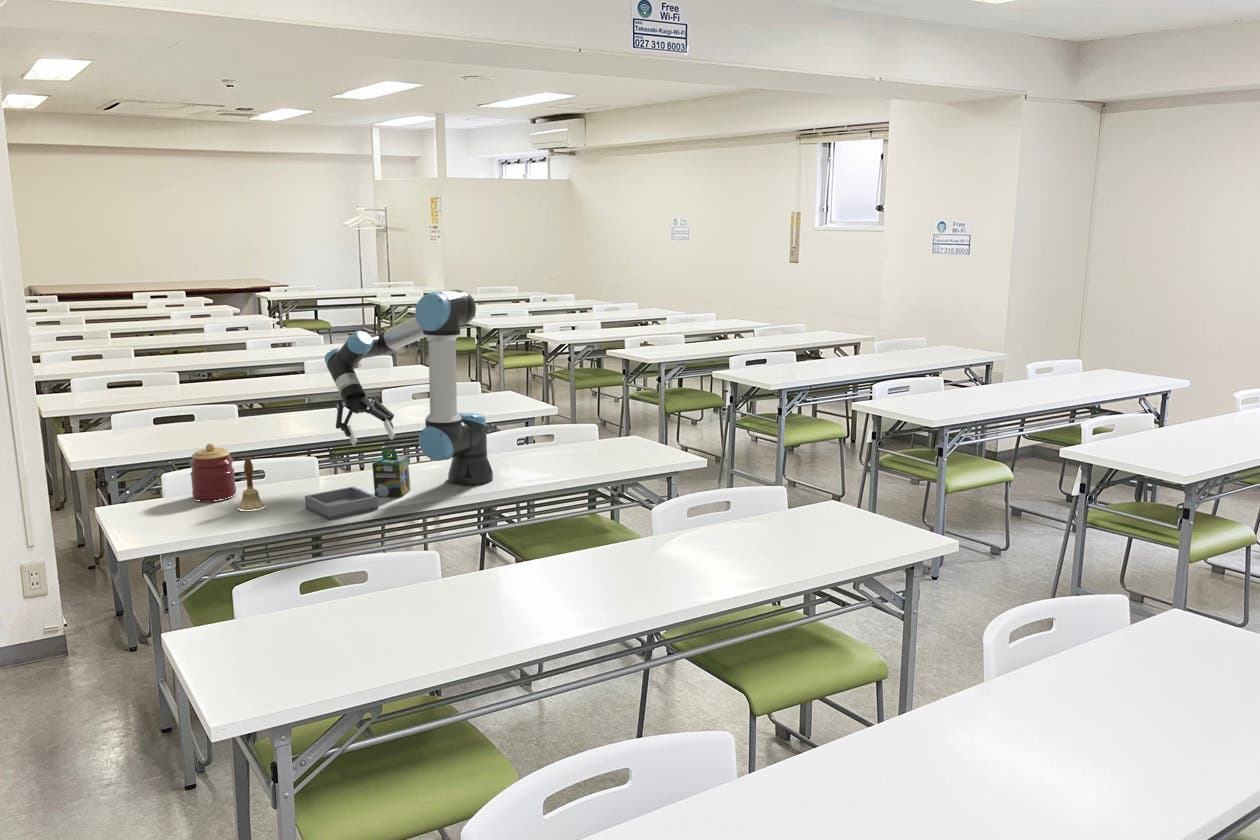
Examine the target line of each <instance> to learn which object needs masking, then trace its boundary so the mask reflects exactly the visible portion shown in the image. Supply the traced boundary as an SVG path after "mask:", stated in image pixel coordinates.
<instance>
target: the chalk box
mask: <svg viewBox="0 0 1260 840" xmlns="http://www.w3.org/2000/svg"><path fill="white" fill-rule="evenodd" d="M387 454H391V456H390V455H389V456H388V455H387ZM381 455H382V456H381V457H380V458H377V459H376V460H375V461H373V462H372V476H373V488H374V490H373V491H374V495H375V496H377V497H380V498H381V497H385V498H402V497H403V496H404V495H405V494H407V493H408V492H409V491H410V490H411V479H410V470H409V469H410V468H409V456H408V455H402V456H401V455H400V456H399V455H398V454H397V451H396V449H382V450H381Z"/></svg>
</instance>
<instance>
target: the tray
mask: <svg viewBox="0 0 1260 840" xmlns="http://www.w3.org/2000/svg"><path fill="white" fill-rule="evenodd" d="M378 500H379V498H378V496H375V494H373V493H370V492H367V491H366V490H362V489H360V488H358V487H355V486H348V487H344V488H338V489H337V488H336V489H333V490H328V491H323V492H319V493H318V492H317V493H312V494H308V495H304V502H305V505H304V506H305V509H306V510H308V511H310V512H312V513H314V514H316V515H318V516H320V517H322V518H324V519H325V520H328V521H329V520H335V519H338V518H339V519H340V518H344V517H347V516H349V517H350V516H354V515H359V514H362V513H367V512H371V511H377V510H379V502H378Z"/></svg>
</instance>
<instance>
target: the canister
mask: <svg viewBox="0 0 1260 840" xmlns="http://www.w3.org/2000/svg"><path fill="white" fill-rule="evenodd" d="M230 454H231V452H230V451H228V450H226V449H225V448H224V447H223V448H222V447H216V446H215V445H214V443H207V444H206V446H205V448H202V449H199V450H197V451H195V453H193V454H192V455H191V458H192V460H191V461H190V462H189V464H188V465H189V466H190V467H191V472H190V474H189V475H190V477H191V487H192V489H191V490H192V491H191V493H192V494H191V495H192V499H193V500H194V499H196V500H200V501H214V500H219V499H225V498H228V497H231V496H233V495H234V494H235V493H236V494H237V487H236V481H235V468H234V467H233V462H234V458H232V457H231V456H230Z"/></svg>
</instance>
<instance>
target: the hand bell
mask: <svg viewBox="0 0 1260 840" xmlns="http://www.w3.org/2000/svg"><path fill="white" fill-rule="evenodd" d="M243 471H244V474H245V476H246V489H245V490H243V491H242V497H241V502H240V504H239V505H238V506H237V508H239V509H243V510H253V509H260V508H262V507H264V506H265V505H266V504H265V503H264V502H263V501H262V500H261V497H260V494H259V490H258V489H256V488H255V487H254V484H253V473H254V464H253V463H252V460H251V457H245V460H244V464H243Z"/></svg>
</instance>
